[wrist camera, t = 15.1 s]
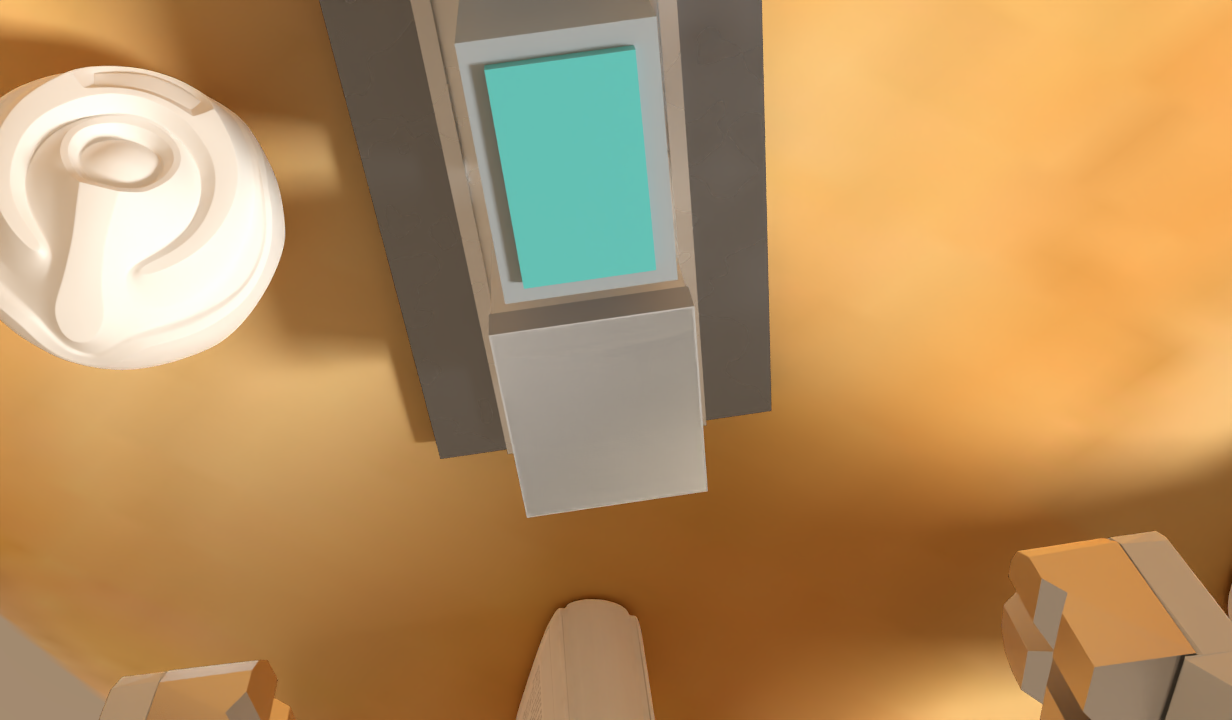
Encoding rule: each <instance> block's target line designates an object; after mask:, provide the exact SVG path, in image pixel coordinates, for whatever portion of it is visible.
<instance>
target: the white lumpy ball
mask: <svg viewBox="0 0 1232 720" xmlns="http://www.w3.org/2000/svg"><path fill="white" fill-rule="evenodd" d="M284 242H285V220H284V211H283V204H282V199H281V194H280V190H279V186H278V183H277V180H276V177H275V174H274V172H273V170H272V167H271V165H270V163H269V161H268V159H267V157H266V155H265V153H264V151H263V150H262V148H261V146H260V144H259V143H258V141H257V139H256V138H255V136H254V135H253V133H252V131H251V130H250V129H249V127H248V126H247V125H246V123H245V122H244V121H243V120H242V119H241V118H240V117H239V116H237V115H236V114H235V113H234V112H232V111H231V110H230V109H228V108H227V107H225V106H224V105H222V104H220V103H219V102H217V101H215V100H214V99H212V98H210V97H208V96H206V95H205V94H203V93H202V92H200V91H199V90H197V89H195V88H194V87H192V86H190V85H188V84H186V83H184V82H182V81H180V80H178V79H175V78H173V77H170V76H167V75H164V74H161V73H158V72H154V71H150V70H146V69H140V68H134V67H124V66H92V67H84V68H78V69H74V70H71V71H68V72H65V73H61V74H56V75H51V76H47V77H44V78H41V79H37V80H34V81H32V82H29V83H26V84H24V85H22V86H19V87H17V88H15V89H13V90H11V91H10V92H8V93H7V94H5V95H4V96H2V97H1V98H0V320H1V321H2V322H3V323H5V324H6V325H7V326H8V327H9V328H10V329H12V330H13V331H14V332H15V333H17V334H18V335H20V336H21V337H23V338H24V339H26V340H27V341H29V342H30V343H32V344H34V345H35V346H37V347H39V348H41V349H42V350H44V351H46V352H48V353H50V354H52V355H54V356H56V357H59V358H61V359H64V360H67V361H70V362H73V363H77V364H81V365H85V366H90V367H95V368H102V369H113V370H130V369H141V368H148V367H153V366H158V365H163V364H167V363H170V362H174V361H177V360H181V359H184V358H186V357H189V356H192V355H195V354H197V353H200V352H202V351H205V350H207V349H209V348H212V347H213V346H215V345H217V344H219V343H220V342H222V341H223V340H224V339H226V338H227V337H228V336H229V335H230V334H232V333H233V332H234V331H235V330H236V329H237V328H238V327H239V326H240V325H241V324H242V323H243V321H244V320H245V319H246V318H247V317H248V315H249V314H250V313H251V312H252V310H253V309H254V308H255V306H256V305H257V303H258V302H259V300H260V299H261V297H262V295H263V294H264V292H265V290H266V289H267V287H268V285H269V283H270V281H271V279H272V277H273V275H274V273H275V271H276V268H277V266H278V263H279V260H280V257H281V254H282V251H283V247H284Z"/></svg>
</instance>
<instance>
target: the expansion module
mask: <svg viewBox="0 0 1232 720" xmlns="http://www.w3.org/2000/svg"><path fill="white" fill-rule="evenodd" d="M454 44H455V49H456V54H457V59H458V64H459V70H460V75H461V80H462V85H463V90H464V95H465V100H466V105H467V111H468V116H469V121H470V126H471V131H472V136H473V141H474V146H475V152H476V157H477V162H478V167H479V172H480V177H481V182H482V188H483V193H484V198H485V203H486V208H487V213H488V218H489V223H490V229H491V234H492V239H493V244H494V249H495V254H496V259H497V264H498V270H499V275H500V280H501V285H502V290H503V295H504V300H505V304H510V303H517V302H524V301H531V300H538V299H545V298H552V297H559V296H566V295H573V294H580V293H588V292H595V291H602V290H609V289H616V288H623V287H630V286H637V285H644V284H651V283H658V282H665V281H672V280H678V275H677V263H676V251H675V238H674V226H673V214H672V201H671V189H670V177H669V164H668V152H667V140H666V127H665V115H664V102H663V90H662V78H661V65H660V53H659V41H658V28H657V16H656V14H655V12H654V10H653V8H652V6H651V4H650V1H649V0H459V6H458V15H457V25H456V34H455V43H454Z"/></svg>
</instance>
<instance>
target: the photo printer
mask: <svg viewBox="0 0 1232 720" xmlns="http://www.w3.org/2000/svg"><path fill="white" fill-rule="evenodd" d="M516 720H655V716H654V711H653V703H652V697H651V690H650V683H649V677H648V671H647V664H646V658H645V652H644V645H643V639H642V633H641V628H640V624H639V621H638V618H637V617H636V616H634V615H629V613H628V611H627V610H626V609H625V608H624V607H622V606H621V605H619V604H617V603H614V602H611V601H607V600H600V599H584V600H578V601H574V602H571V603H569V604H568V605H567V606H566V607H565V608H558V609H557V610H556V612H555V613H554V615H553V617H552V618H551V620H550V622H549V624H548V626H547V628H546V630H545V633H544V635H543V638H542V640H541V643H540V646H539V648H538V652H537V654H536V657H535V660H534V663H533V666H532V669H531V672H530V675H529V678H528V681H527V684H526V687H525V690H524V693H523V696H522V700H521V703H520V706H519V709H518V713H517V717H516Z"/></svg>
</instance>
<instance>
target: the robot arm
mask: <svg viewBox="0 0 1232 720" xmlns="http://www.w3.org/2000/svg"><path fill="white" fill-rule="evenodd" d="M1008 577H1009V579H1010V581H1011V582H1012V584H1013V586H1014V588H1015V590H1016V593H1015V594H1014V595H1013V596H1012V597H1011V598H1010V599H1009V600H1008V601H1007V602H1006V603H1005V604H1004V606H1003V615H1002V624H1001V628H1002V635H1003V642H1004V649H1005V653H1006V656H1007V659H1008V661H1009V664H1010V667H1011V670H1012V672H1013V674H1014V676H1015V678H1016V680H1017V682H1018V685H1019V687H1020V689H1021V690H1022V691H1024V692H1025V693H1027V694H1028V695H1030V696H1031V697H1033V698H1034V699H1036V700H1037V701H1039V702H1040V703H1042V704H1043V706H1042V711H1041V716H1040V720H1232V585H1231V589H1230V593H1229V599H1228V615H1229V618H1228V616H1227V615H1226V614H1225V612H1224V611H1223V610H1222V609H1221V607H1220V606H1219V605H1218V603H1217V602H1216V601H1215V600H1214V598H1213V597H1212V596H1211V594H1210V593H1209V592H1208V591H1207V589H1206V588H1205V587H1204V585H1203V584H1202V583H1201V582H1200V580H1199V579H1198V578H1197V576H1196V575H1195V574H1194V572H1193V571H1192V570H1191V569H1190V567H1189V566H1188V565H1187V563H1186V562H1185V561H1184V560H1183V558H1182V557H1181V556H1180V554H1179V553H1178V552H1177V551H1176V549H1175V548H1174V547H1173V545H1172V544H1171V543H1170V542H1169V540H1168V539H1167V538H1166V537H1165V536H1164V535H1162V534H1160V533H1159V532H1157V531H1151V532H1144V533H1137V534H1130V535H1123V536H1116V537H1110V538H1107V539H1105V538H1099V539H1092V540H1086V541H1079V542H1073V543H1067V544H1060V545H1054V546H1047V547H1041V548H1034V549H1028V550H1021V551H1017V552H1016V553H1015V555H1014V556H1013V558H1012V559H1011V563H1010V569H1009V574H1008ZM277 682H278V679H277V677H276V675H275V673H274V671H273V670H272V668H271V666H270V664H269V662H268V660H255V661H247V662H238V663H229V664H221V665H212V666H204V667H195V668H186V669H178V670H169V671H165V672H157V673H149V674H141V675H133V676H125V677H122V678H121V679H120V680H119V681H118V682H117V683H116V684H115V685H114V687H113V688H112V689H111V690H110V692H109V695H108V697H107V700H106V702H105V705H104V707H103V710H102V713H101V715H100V718H99V720H296V719H295V717H294V714H293V712H292V710H291V707H290V706H289V705H287V704H285V703H283V702H281V701H280V700H278V699H276V698H274V696H275V691H276V687H277Z"/></svg>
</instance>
